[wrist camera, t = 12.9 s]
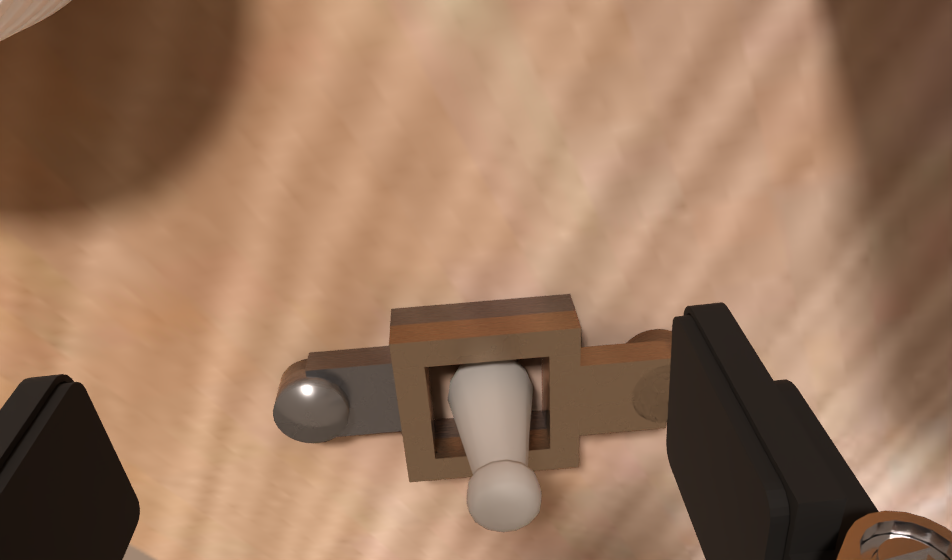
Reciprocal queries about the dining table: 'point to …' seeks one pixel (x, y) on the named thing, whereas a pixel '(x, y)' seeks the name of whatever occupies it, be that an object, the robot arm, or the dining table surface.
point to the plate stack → (25, 14)
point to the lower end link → (380, 378)
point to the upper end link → (567, 385)
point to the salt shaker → (496, 442)
